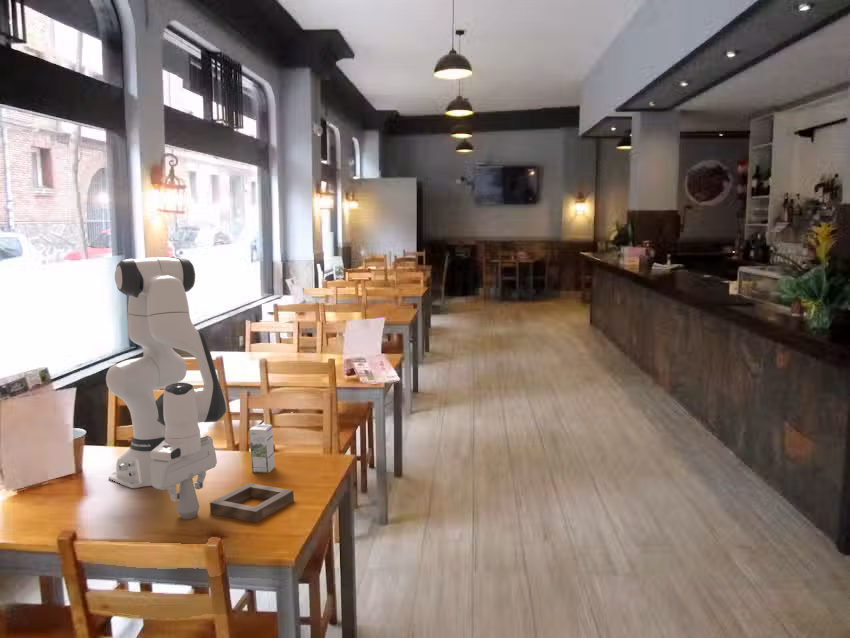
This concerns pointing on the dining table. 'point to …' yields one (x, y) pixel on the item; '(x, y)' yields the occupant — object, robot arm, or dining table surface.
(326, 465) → the dining table surface
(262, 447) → the syrup box
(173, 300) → the robot arm
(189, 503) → the salt shaker
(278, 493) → the walnut socket
